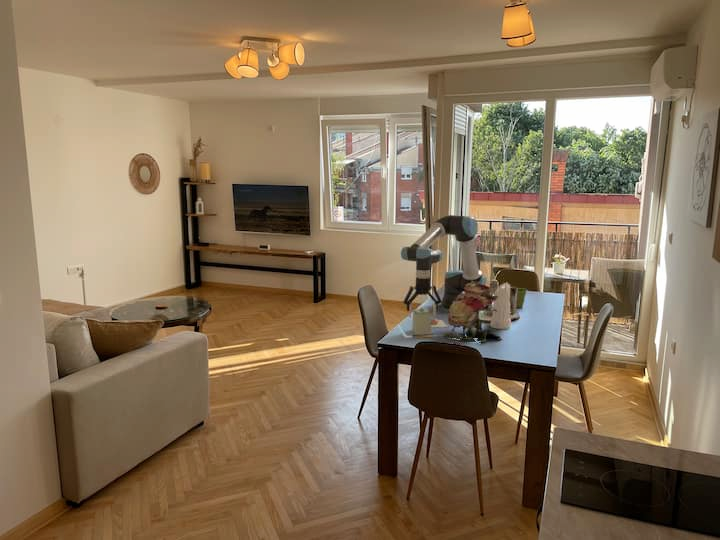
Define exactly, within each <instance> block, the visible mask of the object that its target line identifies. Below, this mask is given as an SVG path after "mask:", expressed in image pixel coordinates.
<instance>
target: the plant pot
mask: <svg viewBox="0 0 720 540" xmlns="http://www.w3.org/2000/svg"><path fill="white" fill-rule="evenodd" d="M527 292H528V289H526V288H518V291H517V304H516V309H518V308H523V306H524V302H525V297H526V295H527Z"/></svg>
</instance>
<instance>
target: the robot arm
mask: <svg viewBox="0 0 720 540" xmlns="http://www.w3.org/2000/svg"><path fill="white" fill-rule="evenodd" d="M478 229H479V225H478V221H477V219H476V218H475V217H473V216H469V215H453V214H452V215H451V214H449V215H445V216H441V217H440V218H438V219H437V220H435V221H433V222H432V224H431V225H430V227H429V228H428V230H426V231H425V232H424V233H423V234H422V235H421V236H420V237H419V238H417V240H416V241H415V242H414V243H412V244H411V245H410V246H403V247H402V249H401V251H400V256H401V259H402V260H404V261H408V262H415V263H416V264H415V267H416V268H415V286H412V285H410V286H409V288H408V289H409V290H408V292H407V293H406V296H405V298H404V300H403V301H402V303H403V304H404V305H406V311H407V312H408V314H407V315H408V316H407V317H409V318H411V317H412V305H411V304H412V303H413V301H414V300H415V299H416V298H417V297H418V296H419V295H420V296H422V295H423V296H425V295H428V296H429V297H430V298H431V300H432V301H433V307H432V308H433V310H432V312H433V313H432V315H433V317H436V316H437V311H438V309H439V304H440V306H441V307H443V308H447V309H450V306H451V305H452V304H453V302H452V301H454V300H455V299H456V298H457V296H458V295H459V294H462V293H465V292H466V291H465V290H464V287H467V286H466V284H468V283H471V282H472V281H475V282H478V283H480V284H483V285H486V286H487V277H486V276H485V275H483V274H482V271H481V270H480V269H479V266H478V265H479V264H478V259H477V253H476V245H475V241H474V239H475V238H476V236H477V235H478V231H479V230H478ZM446 235H448V236H449V235H450V236H454V237H455V240H456V241H457V242H458V243H459V249H460V255H461V260H462V265H463V270H460V269H456V270H449V271H448V270H447V271H446V272H445V274H444V284H443V285H444V286H443V287H444V289H443V290H444V293H443V296H442V299H441V298H440V295H439V293H438V291H437V287H436V285H434V284H433V285H432V286H431V265H434V264H436V263H438V262H440V261H441V260H442V259H443V253H442V250H441V249H439V248H430V247H431V246H432V245H433V244H434V243H435V242H436V241H437V240H439V238H442V237H444V236H446ZM431 290H432V291H433V293H434V295H432V293H431V292H430V291H431ZM413 291H415V292H414V293H413ZM411 295H412V296H411ZM434 296H435V297H436V298H435V297H434Z"/></svg>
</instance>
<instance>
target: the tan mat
mask: <svg viewBox="0 0 720 540" xmlns="http://www.w3.org/2000/svg"><path fill="white" fill-rule="evenodd" d="M412 337H413V338H414V339H415V340H416V339H435V338H436V336H435V335H434V334H413V335H412Z"/></svg>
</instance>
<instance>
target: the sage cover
mask: <svg viewBox="0 0 720 540" xmlns="http://www.w3.org/2000/svg"><path fill="white" fill-rule="evenodd" d="M431 319H432V312H431V310H429V309H428V308H425V307H424V308H423V307H420V308H413V309H412V331H413V333H414V335H432V334H431V331H432V327H431Z"/></svg>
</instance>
